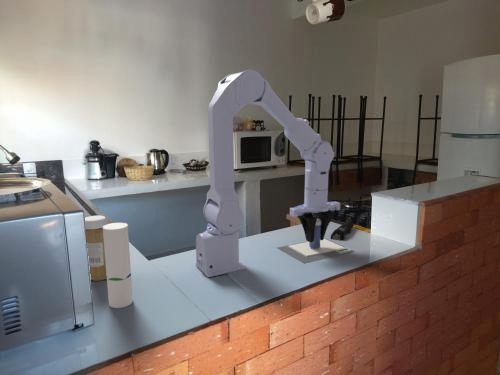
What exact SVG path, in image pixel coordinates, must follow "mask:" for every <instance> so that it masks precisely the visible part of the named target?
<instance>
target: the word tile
mask: <svg viewBox="0 0 500 375" xmlns="http://www.w3.org/2000/svg"><path fill="white" fill-rule="evenodd" d="M344 247H345V248H340V249H336V250H334V251H335V252H337V253H339V254H342V253H347V252H351V251H352V250H353V249H351V248H348V247H346V246H344ZM347 254H348V253H347Z"/></svg>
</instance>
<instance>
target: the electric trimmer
mask: <svg viewBox="0 0 500 375" xmlns="http://www.w3.org/2000/svg"><path fill="white" fill-rule="evenodd" d="M353 228H354V221H353V219H351V218H350V219H347V220H346V221H345V222H344V223H343V224H341V225H340V226H339V227H337V228H336V229H334V230H333V231H332V233H331V235H330V240H335V241H339V242H340V241H341V242H342V241H344V239H345V236H346V235H347V234H350V233H351V232H352V230H353Z"/></svg>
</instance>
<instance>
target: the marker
mask: <svg viewBox="0 0 500 375" xmlns="http://www.w3.org/2000/svg"><path fill="white" fill-rule="evenodd" d="M320 239H321V220H320V219H317V221H316V224H315V228H314V240H313V242H309V247H311V248H319V247H320Z"/></svg>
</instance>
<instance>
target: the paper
mask: <svg viewBox="0 0 500 375" xmlns="http://www.w3.org/2000/svg"><path fill="white" fill-rule="evenodd" d="M326 239H327V238H326ZM326 239H323V240H320V247H319V248H311V247H309V242H308V241H304V242H305V243H303V242H299V243H300V244H298V243H294V244H295V245H293V244H289V245H290V246H288V245H287V246H288V247H289V248H291V249H293V250H295V251H297V252H298V253H300V254H302V255H304V256H306V257H308V256H313V255H317V254H322V253H326V252H331V251H334V250H336V249H340V248H344V247H345V246H344V247H342V246H343V245H342V246H340V245H341V244H339V243H337V244H335V243H336V242H335V243H333V242H334V241H332V240H330V241H328V240H329V239H328V240H326ZM331 241H332V242H331ZM338 244H339V245H338Z"/></svg>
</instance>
